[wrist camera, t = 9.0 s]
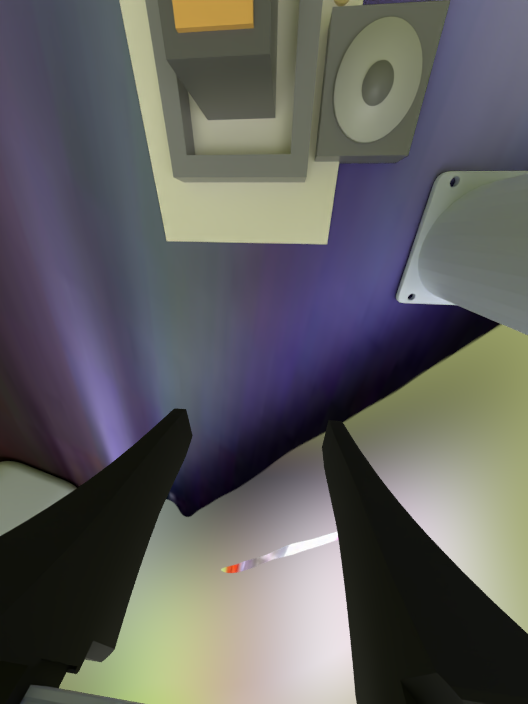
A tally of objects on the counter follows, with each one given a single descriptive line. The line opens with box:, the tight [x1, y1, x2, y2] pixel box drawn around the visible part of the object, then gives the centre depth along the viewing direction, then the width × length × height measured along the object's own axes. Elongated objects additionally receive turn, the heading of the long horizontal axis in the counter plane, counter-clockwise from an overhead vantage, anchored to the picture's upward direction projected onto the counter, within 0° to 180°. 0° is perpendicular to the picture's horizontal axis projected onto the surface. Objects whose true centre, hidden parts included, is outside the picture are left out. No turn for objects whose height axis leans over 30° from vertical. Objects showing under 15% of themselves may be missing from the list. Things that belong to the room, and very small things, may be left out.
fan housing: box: [315, 0, 450, 163], centre depth 11 cm, size 5×5×2 cm
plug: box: [158, 0, 278, 120], centre depth 9 cm, size 4×5×5 cm
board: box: [119, 0, 363, 244], centre depth 11 cm, size 12×16×2 cm
